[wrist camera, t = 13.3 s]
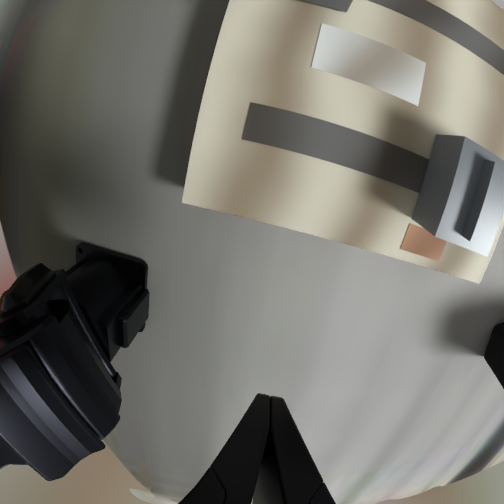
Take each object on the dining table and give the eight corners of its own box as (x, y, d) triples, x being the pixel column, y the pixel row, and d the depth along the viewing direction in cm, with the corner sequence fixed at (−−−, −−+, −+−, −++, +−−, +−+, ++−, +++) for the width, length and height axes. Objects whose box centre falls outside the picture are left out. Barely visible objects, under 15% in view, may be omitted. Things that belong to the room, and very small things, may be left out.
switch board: (196, 192, 19) (181, 202, 16) (265, -63, 11) (262, -86, 8) (460, 266, 18) (479, 284, 16) (509, 38, 11) (530, 33, 8)
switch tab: (411, 218, 15) (442, 242, 11) (435, 134, 13) (474, 137, 9) (461, 237, 14) (495, 263, 11) (485, 161, 13) (525, 171, 9)
